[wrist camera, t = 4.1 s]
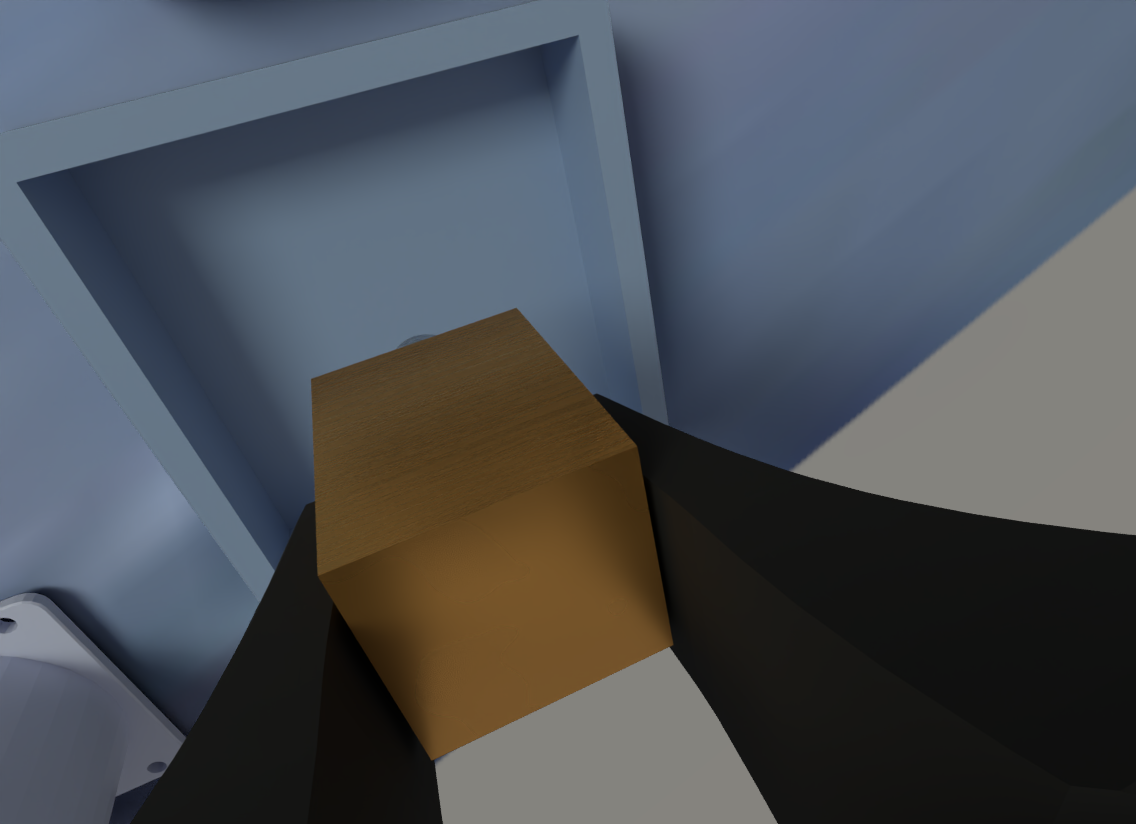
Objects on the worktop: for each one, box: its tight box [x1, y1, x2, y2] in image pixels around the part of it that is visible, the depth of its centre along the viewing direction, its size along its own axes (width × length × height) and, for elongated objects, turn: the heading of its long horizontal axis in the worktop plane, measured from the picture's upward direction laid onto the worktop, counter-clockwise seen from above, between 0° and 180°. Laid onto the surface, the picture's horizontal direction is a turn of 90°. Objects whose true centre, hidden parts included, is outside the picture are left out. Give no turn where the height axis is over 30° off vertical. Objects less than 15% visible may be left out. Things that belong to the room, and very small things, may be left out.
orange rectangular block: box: [311, 308, 673, 760], centre depth 9 cm, size 3×3×6 cm
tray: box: [0, 0, 669, 603], centre depth 15 cm, size 11×11×3 cm
